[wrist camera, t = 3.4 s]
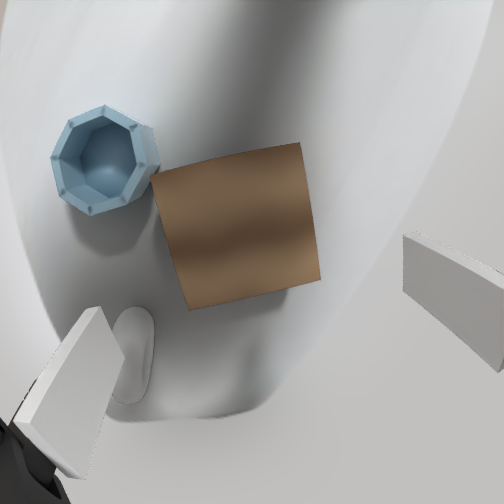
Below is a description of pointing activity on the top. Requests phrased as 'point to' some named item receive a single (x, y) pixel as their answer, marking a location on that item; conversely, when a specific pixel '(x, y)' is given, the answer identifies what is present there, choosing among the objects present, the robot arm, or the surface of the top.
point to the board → (239, 225)
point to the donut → (134, 353)
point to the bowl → (103, 160)
